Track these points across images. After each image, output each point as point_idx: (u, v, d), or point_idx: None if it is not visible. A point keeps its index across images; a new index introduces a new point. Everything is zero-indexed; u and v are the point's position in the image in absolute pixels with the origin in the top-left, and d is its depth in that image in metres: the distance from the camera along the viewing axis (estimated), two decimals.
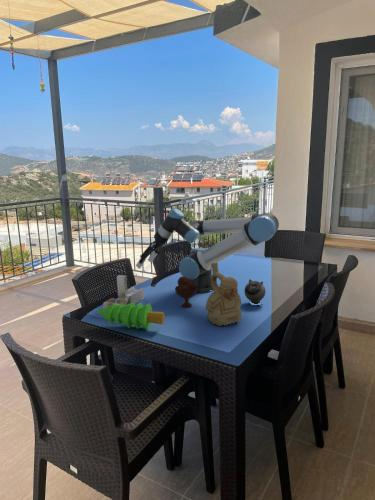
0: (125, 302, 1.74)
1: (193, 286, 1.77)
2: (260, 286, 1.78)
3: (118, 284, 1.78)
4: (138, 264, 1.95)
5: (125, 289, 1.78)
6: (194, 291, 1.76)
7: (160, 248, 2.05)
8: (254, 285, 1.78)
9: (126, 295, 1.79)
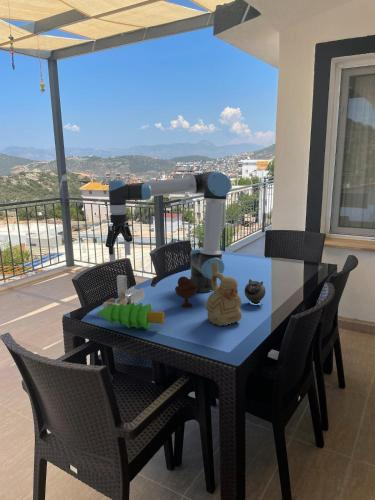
0: (125, 302, 1.74)
1: (193, 286, 1.77)
2: (260, 286, 1.78)
3: (118, 284, 1.78)
4: (111, 257, 1.69)
5: (125, 289, 1.78)
6: (194, 291, 1.76)
7: (129, 234, 1.80)
8: (254, 285, 1.78)
9: (126, 295, 1.79)
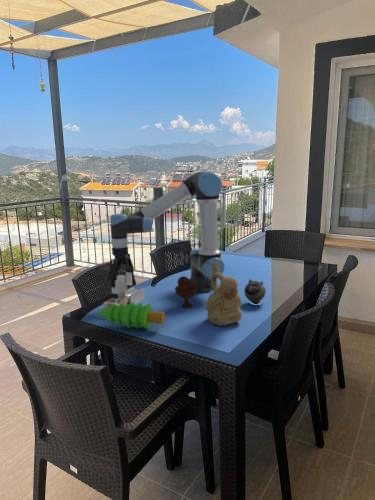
0: (125, 302, 1.74)
1: (193, 286, 1.77)
2: (260, 286, 1.78)
3: (118, 284, 1.78)
4: (113, 290, 1.72)
5: (125, 289, 1.78)
6: (194, 291, 1.76)
7: (131, 265, 1.83)
8: (254, 285, 1.78)
9: (126, 295, 1.79)
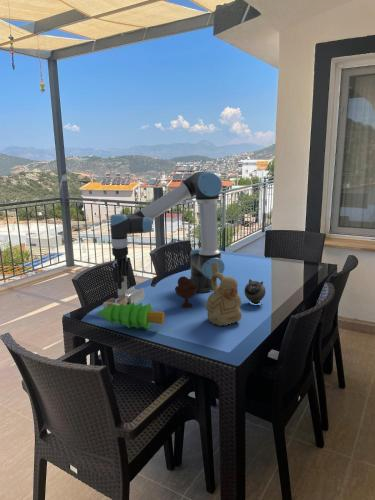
0: (125, 302, 1.74)
1: (193, 286, 1.77)
2: (260, 286, 1.78)
3: None
4: (119, 291, 1.77)
5: (125, 289, 1.78)
6: (194, 291, 1.76)
7: (127, 270, 1.80)
8: (254, 285, 1.78)
9: (126, 295, 1.79)
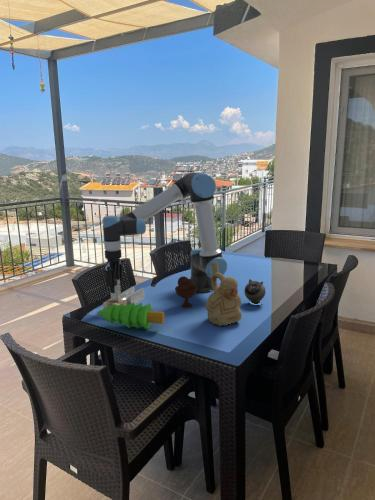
0: (125, 302, 1.74)
1: (193, 286, 1.77)
2: (260, 286, 1.78)
3: None
4: (112, 295, 1.72)
5: (118, 293, 1.72)
6: (194, 291, 1.76)
7: (121, 273, 1.75)
8: (254, 285, 1.78)
9: (119, 299, 1.73)
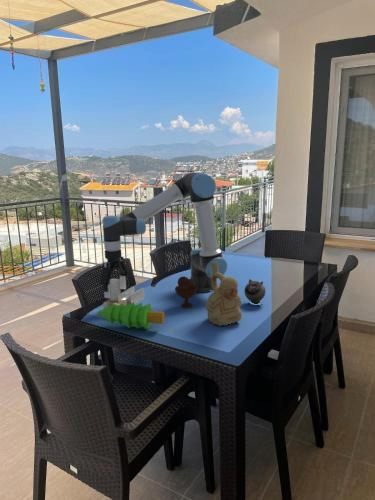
0: (125, 302, 1.74)
1: (193, 286, 1.77)
2: (260, 286, 1.78)
3: (111, 287, 1.72)
4: (106, 294, 1.67)
5: (118, 293, 1.72)
6: (194, 291, 1.76)
7: (124, 268, 1.78)
8: (254, 285, 1.78)
9: (119, 299, 1.73)
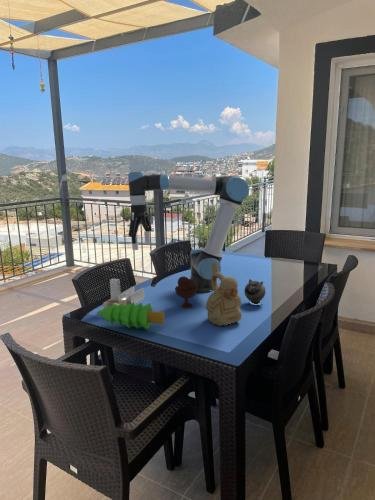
0: (125, 302, 1.74)
1: (193, 286, 1.77)
2: (260, 286, 1.78)
3: (111, 287, 1.72)
4: (134, 246, 1.75)
5: (118, 293, 1.72)
6: (194, 291, 1.76)
7: (148, 224, 1.86)
8: (254, 285, 1.78)
9: (119, 299, 1.73)
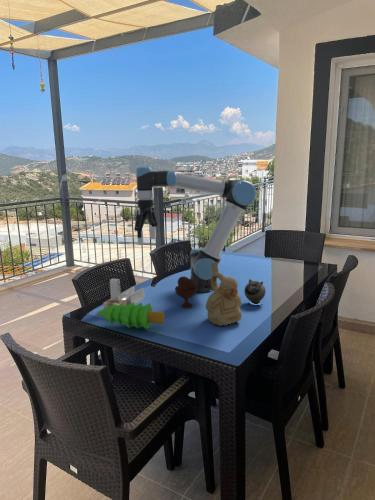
0: (125, 302, 1.74)
1: (193, 286, 1.77)
2: (260, 286, 1.78)
3: (111, 287, 1.72)
4: (139, 240, 1.78)
5: (118, 293, 1.72)
6: (194, 291, 1.76)
7: (154, 219, 1.89)
8: (254, 285, 1.78)
9: (119, 299, 1.73)
